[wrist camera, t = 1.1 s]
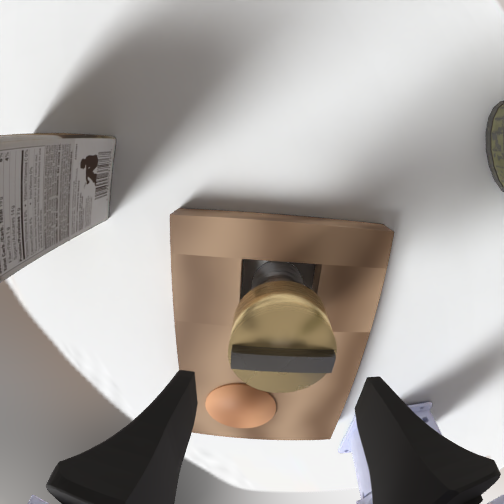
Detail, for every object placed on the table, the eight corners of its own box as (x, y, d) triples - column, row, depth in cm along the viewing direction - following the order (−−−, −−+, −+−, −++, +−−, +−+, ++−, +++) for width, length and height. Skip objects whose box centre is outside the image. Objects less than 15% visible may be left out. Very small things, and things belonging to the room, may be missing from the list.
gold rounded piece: (318, 252, 20) (350, 319, 12) (308, 317, 22) (326, 401, 14) (242, 246, 20) (227, 312, 12) (239, 312, 22) (225, 397, 14)
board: (383, 224, 19) (395, 232, 17) (327, 424, 26) (330, 440, 24) (178, 208, 19) (168, 215, 17) (191, 417, 26) (187, 433, 24)
